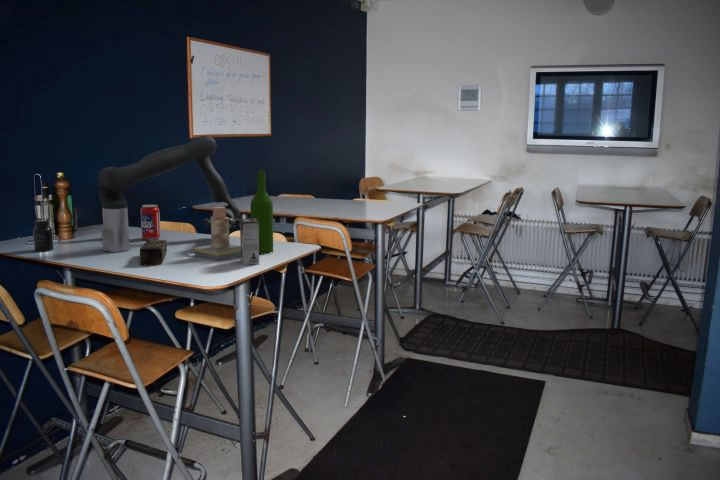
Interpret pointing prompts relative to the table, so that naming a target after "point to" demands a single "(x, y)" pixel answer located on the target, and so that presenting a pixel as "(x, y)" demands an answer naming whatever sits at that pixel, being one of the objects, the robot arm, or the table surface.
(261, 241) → the wine bottle
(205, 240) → the table surface
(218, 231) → the wooden block
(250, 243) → the coffee box
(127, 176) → the robot arm
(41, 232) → the supplement bottle
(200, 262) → the table surface
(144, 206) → the soda can
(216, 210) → the cube
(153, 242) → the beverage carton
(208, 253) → the dock
